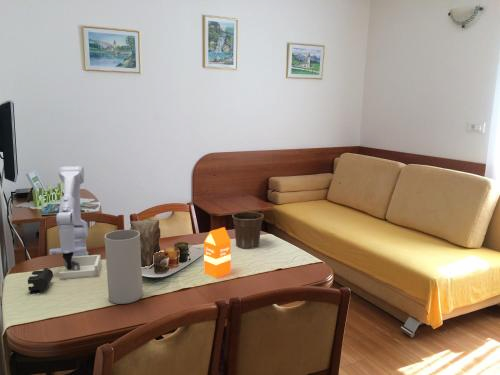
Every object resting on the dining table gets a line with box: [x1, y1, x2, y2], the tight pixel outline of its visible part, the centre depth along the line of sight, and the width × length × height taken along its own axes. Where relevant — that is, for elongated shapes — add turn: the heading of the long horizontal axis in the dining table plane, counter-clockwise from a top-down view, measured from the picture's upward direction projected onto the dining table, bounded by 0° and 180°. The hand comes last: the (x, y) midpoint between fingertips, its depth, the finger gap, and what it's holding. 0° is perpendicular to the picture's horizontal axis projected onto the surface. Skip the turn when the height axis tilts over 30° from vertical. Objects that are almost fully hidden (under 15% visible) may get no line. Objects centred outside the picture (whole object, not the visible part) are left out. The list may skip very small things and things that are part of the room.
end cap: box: [27, 267, 54, 295], centre depth 165 cm, size 10×7×7 cm
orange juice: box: [203, 226, 232, 279], centre depth 180 cm, size 8×9×20 cm
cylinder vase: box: [104, 229, 144, 305], centre depth 157 cm, size 12×12×25 cm
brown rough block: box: [129, 218, 161, 267], centre depth 191 cm, size 13×13×20 cm
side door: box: [64, 260, 80, 271], centre depth 181 cm, size 10×2×4 cm, turn 57°
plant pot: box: [231, 211, 264, 250], centre depth 216 cm, size 16×16×16 cm
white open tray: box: [59, 254, 102, 281], centre depth 181 cm, size 13×15×5 cm
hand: (69, 268), depth 180 cm, fingers closed, pressing on side door
